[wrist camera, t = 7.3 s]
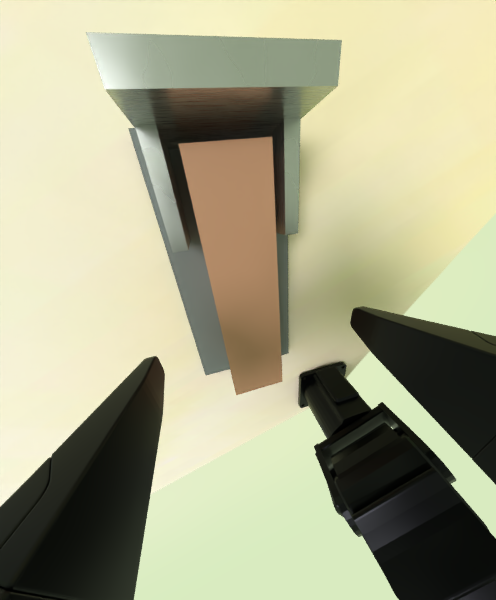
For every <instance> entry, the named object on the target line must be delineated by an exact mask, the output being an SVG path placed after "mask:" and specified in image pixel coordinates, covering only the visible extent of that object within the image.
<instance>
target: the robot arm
mask: <svg viewBox="0 0 496 600" xmlns="http://www.w3.org/2000/svg"><path fill="white" fill-rule="evenodd" d="M350 324H351V327H352V328H353V329H354V331H355V332H356V333H357V334H358V336H359V337H360V338H361V340H362V341H363V342H364V343H365V345H366V346H367V347H368V348H369V350H370V351H371V352H372V353H373V354H374V355H375V356H376V358H377V359H378V360H379V361H380V362H381V363H382V364H383V365H384V366H385V367H386V368H387V369H388V370H389V371H390V372H391V373H392V374H393V376H394V377H396V379H397V380H398V381H399V382H400V383H401V384H402V385H403V386H404V387H405V388H406V389H407V391H408V392H409V393H410V394H411V395H412V396H413V397H414V398H415V399H416V400H417V401H418V402H419V403H420V404H421V405H422V406H423V408H424V409H426V411H427V412H428V413H429V414H430V415H431V416H432V417H433V418H434V419H435V420H436V421H437V422H438V423H439V424H440V426H441V427H442V428H443V429H444V430H445V431H446V432H447V433H448V434H449V435H450V436H451V437H452V438H453V439H454V440H455V441H456V442H457V444H458V445H459V446H460V447H461V448H462V449H463V450H464V451H465V452H466V453H467V454H468V455H469V456H470V457H471V458H472V460H473V461H474V462H475V463H476V464H477V465H478V466H479V467H480V468H481V469H482V470H483V471H484V472H485V474H486V475H487V476H488V477H489V478H490V479H491V480H492V481H493V482H494V483H495V484H496V336H492V335H487V334H483V333H479V332H474V331H469V330H465V329H461V328H456V327H452V326H447V325H443V324H439V323H434V322H429V321H425V320H421V319H416V318H412V317H407V316H403V315H399V314H394V313H390V312H386V311H381V310H377V309H372V308H368V307H363V306H362V307H357V308H354V309H353V311H352V316H351V321H350ZM345 371H346V364H345V363H344V362H341V363H337V364H334V365H330V366H327V367H324V368H320V369H317V370H313V371H310V372H306V373H303V374H301V375H300V377H299V400H298V404H299V406H300V408H303V407H306V406H309V407H310V409H311V411H312V412H313V414H314V416H315V418H316V420H317V421H318V423H319V425H320V427H321V428H322V430H323V432H324V434H325V436H326V437H327V439H326V440H324V441H323V442H321V443H320V444H316V445H315V446H314V448H315V450H316V454H315V455H316V456H317V459H318V461H319V463H320V466H321V468H322V471H323V473H324V476H325V479H326V481H327V484H328V488H329V491H330V494H331V497H332V501H333V504H334V507H335V509H336V511H337V513H338V514H339V515H341V516H343V517H344V518H345V520H346V521H347V522H348V524H349V526H350V527H351V529H352V530H353V532H354V533H355V534H356V535H357V536H358V537H360V536H363V538H364V539H365V541H366V543H367V544H368V546H369V548H370V550H371V552H372V553H373V555H374V557H375V559H376V560H377V562H378V564H379V566H380V567H381V569H382V571H383V573H384V574H385V576H386V578H387V580H388V582H389V584H390V586H391V588H392V589H393V591H394V593H395V595H396V596H397V598H398V599H399V600H496V539H495V537H494V536H493V535H492V534H491V533H490V532H489V530H488V528H487V526H486V525H485V524H484V522H483V521H482V520H481V519H480V518H479V517H478V516H477V514H476V513H475V512H474V511H473V510H472V508H471V507H470V506H469V505H468V504H467V503H466V501H465V500H464V499H463V498H462V497H461V496H460V494H459V493H458V492H457V491H456V490H455V489H454V488H453V486H452V485H451V483H453V482H455V481H456V479H455V477H454V476H453V474H452V473H451V472H450V471H449V469H448V468H447V467H446V466H445V464H444V463H443V462H442V461H441V460H440V459H439V458H438V457H437V456H436V454H435V453H434V452H433V451H432V450H431V449H430V448H429V447H428V446H427V445H426V444H425V443H424V442H423V441H422V440H421V439H420V438H419V437H418V436H417V435H416V434H415V433H414V432H413V431H412V430H411V429H410V428H409V427H408V426H407V425H406V424H405V423H403V422H402V421H401V420H400V419H399V418H398V417H397V416H396V415H395V414H394V413H393V412H392V411H391V410H390V409H389V408H388V407H387V406H386V405H385V404H384V403H383V402H381V403H380V404H378V406H377V407H376V408H374V409H371V408H370V407H369V406H368V405H367V404H366V403H365V401H364V400H363V399H362V398H361V397H360V396H359V394H358V392H357V391H356V390H355V389H354V387H353V386H352V385H351V384H350V383H349V382H348V381H347V379H346V378H345V377H344V376H345ZM164 380H165V373H164V370H163V367H162V365H161V363H160V361H159V359H158V357H156V356H154V357H149V358H146V359H144V360H143V361H142V362H141V363H140V364H139V366H138V367H137V368H136V369H135V370H134V371H133V372H132V373H131V374H130V375H129V376H128V377H127V378H126V379H125V380H124V381H123V382H122V383H121V384H120V385H119V386H118V387H117V388H116V389H115V390H114V391H113V392H112V393H111V394H110V395H109V396H108V397H107V398H106V399H105V401H104V402H103V403H102V404H101V405H100V406H99V407H98V408H97V409H96V410H95V411H94V412H93V413H92V414H91V415H90V416H89V417H88V418H87V419H86V420H85V421H84V422H83V423H82V424H81V425H80V426H79V427H78V428H77V429H76V430H75V431H74V432H73V433H72V434H71V436H70V437H69V438H68V439H67V440H66V441H65V442H64V443H63V444H62V445H61V446H60V447H59V448H58V449H57V450H56V451H55V452H54V453H53V454H52V457H50V458H48V459H47V460H46V461H45V462H44V463H43V464H42V465H41V466H40V467H39V468H38V469H37V470H36V471H35V472H34V474H33V475H32V476H31V477H30V478H29V479H28V480H27V481H26V482H25V483H24V484H23V485H22V486H21V487H20V488H19V489H18V490H17V491H16V492H15V493H14V494H13V495H12V496H11V497H10V498H9V499H8V500H7V501H6V502H5V503H4V504H3V505H2V506H1V507H0V600H134V594H135V587H136V581H137V575H138V569H139V562H140V556H141V550H142V543H143V537H144V530H145V524H146V518H147V512H148V505H149V499H150V493H151V487H152V480H153V474H154V468H155V461H156V455H157V449H158V442H159V436H160V430H161V423H162V416H163V402H164ZM391 427H392V428H393V429H392V428H391Z"/></svg>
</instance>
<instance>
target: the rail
mask: <svg viewBox="0 0 496 600" xmlns="http://www.w3.org/2000/svg"><path fill="white" fill-rule="evenodd" d="M179 148H180V153H181V157H182V161H183V166H184V170H185V174H186V179H187V183H188V187H189V192H190V196H191V200H192V205H193V209H194V213H195V218H196V222H197V227H198V231H199V235H200V240H201V244H202V248H203V253H204V257H205V261H206V266H207V270H208V274H209V279H210V283H211V287H212V292H213V296H214V300H215V305H216V309H217V313H218V318H219V322H220V326H221V331H222V335H223V340H224V344H225V348H226V353H227V357H228V361H229V366H230V370H231V374H232V379H233V383H234V387H235V392H236V395H238V394H242V393H245V392H248V391H252V390H255V389H258V388H262V387H265V386H268V385H272V384H275V383H278V382H282V362H281V337H280V313H279V289H278V265H277V241H276V217H275V193H274V168H273V144H272V137H262V138H248V139H235V140H221V141H207V142H194V143H180V144H179Z"/></svg>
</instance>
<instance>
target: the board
mask: <svg viewBox="0 0 496 600" xmlns="http://www.w3.org/2000/svg"><path fill="white" fill-rule="evenodd" d="M129 132H130V135H131V138H132V141H133V144H134V148H135V151H136V154H137V157H138V160H139V164H140V167H141V170H142V173H143V176H144V180H145V183H146V186H147V189H148V192H149V196H150V199H151V202H152V205H153V208H154V211H155V215H156V218H157V221H158V224H159V227H160V231H161V234H162V237H163V240H164V243H165V247H166V250H167V253H168V256H169V259H170V263H171V266H172V269H173V272H174V275H175V279H176V282H177V285H178V288H179V291H180V295H181V298H182V301H183V304H184V307H185V311H186V314H187V317H188V320H189V323H190V326H191V330H192V333H193V336H194V339H195V342H196V346H197V349H198V352H199V355H200V358H201V362H202V365H203V368H204V371H205V374H206V375H209V374H213V373H217V372H220V371H224V370H228V369H230V366H229V361H228V357H227V353H226V348H225V344H224V340H223V335H222V331H221V326H220V322H219V318H218V313H217V309H216V305H215V300H214V296H213V292H212V287H211V283H210V279H209V274H208V270H207V266H206V261H205V257H204V253H203V248H202V244H201V240H200V235H199V231H198V227H197V222H196V218H195V213H194V209H193V205H192V200H191V196H190V192H189V187H188V183H187V179H186V174H185V170H184V166H183V161H182V157H181V153H180V149H176V150H169V153H170V157H171V161H172V166H173V170H174V174H175V178H176V182H177V186H178V190H179V194H180V198H181V202H182V206H183V210H184V214H185V219H186V223H187V227H188V231H189V235H190V239H191V242H190V246H189V250H187V251H181V252H174V253H173V252H172V248H171V245H170V242H169V238H168V235H167V232H166V228H165V225H164V222H163V218H162V215H161V212H160V208H159V205H158V202H157V198H156V195H155V192H154V188H153V185H152V182H151V178H150V175H149V172H148V168H147V165H146V162H145V158H144V155H143V152H142V148H141V145H140V142H139V138H138V135H137V132H136V129H135V128H129ZM276 241H277V265H278V289H279V313H280V337H281V355H284V354H287V353H288V235H283V234H279V233H276Z"/></svg>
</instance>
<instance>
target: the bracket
mask: <svg viewBox="0 0 496 600" xmlns="http://www.w3.org/2000/svg"><path fill="white" fill-rule="evenodd" d="M86 34H87V37H88V40H89V43H90V46H91V49H92V52H93V55H94V58H95V61H96V64H97V67H98V70H99V73H100V76H101V79H102V82H103V85H104V88H105V90H106V91H107V93H108V94H109V95H110V97H111V98H112V99H113V100H114V102H115V103H116V104H117V106H118V107H119V108H120V109H121V111H122V112H123V113H124V115H125V116H126V117H127V118H128V120H129V121H130V122H131V123H132V125H133V126H134V127H135V129H136V132H137V135H138V138H139V142H140V145H141V148H142V152H143V155H144V158H145V162H146V165H147V168H148V172H149V175H150V178H151V182H152V185H153V188H154V192H155V195H156V198H157V202H158V205H159V208H160V212H161V215H162V218H163V222H164V225H165V228H166V232H167V235H168V238H169V242H170V245H171V248H172V252H173V253H174V252H181V251H187V250H189V246H190V242H191V239H190V235H189V231H188V227H187V223H186V219H185V214H184V210H183V206H182V202H181V198H180V194H179V190H178V186H177V182H176V178H175V174H174V170H173V166H172V161H171V157H170V153H169V150H176V149H180V148H179V144H180V143H194V142H207V141H221V140H235V139H248V138H262V137H272V144H273V168H274V193H275V217H276V233H279V234H283V235H290V234H296V233H298V214H299V164H300V119H301V118H302V117H304V116H305V115H306V114H307V113H308V112H309V111H310V110H311V109H312V108H314V107H315V106H316V105H317V104H318V103H319V102H320V101H321V100H323V99H324V98H325V97H326V96H327V95H328V94H329V93H330V92H331V91H333V90H334V89H335V88H336V87H337V86H338V77H339V66H340V54H341V43H342V40H319V39H287V38H254V37H222V36H189V35H156V34H124V33H91V32H86Z"/></svg>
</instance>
